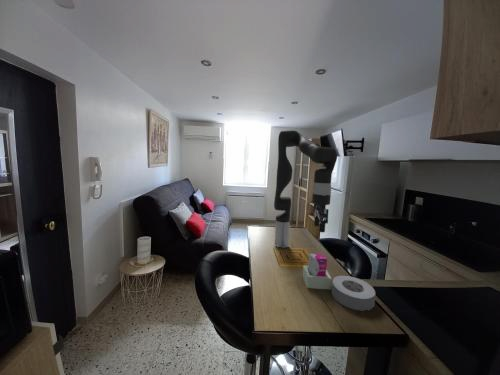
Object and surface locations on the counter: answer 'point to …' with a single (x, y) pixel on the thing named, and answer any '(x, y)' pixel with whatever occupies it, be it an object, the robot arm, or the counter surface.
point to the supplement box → (317, 265)
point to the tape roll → (353, 293)
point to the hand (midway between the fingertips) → (319, 228)
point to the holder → (316, 280)
